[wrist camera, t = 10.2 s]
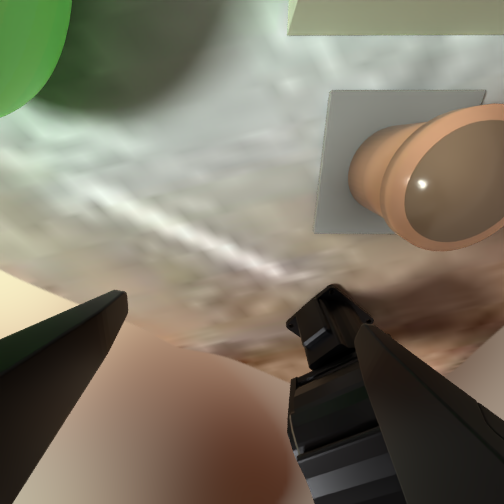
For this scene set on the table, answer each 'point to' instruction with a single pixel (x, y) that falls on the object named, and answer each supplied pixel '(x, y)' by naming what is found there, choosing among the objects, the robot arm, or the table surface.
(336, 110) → the slate pad
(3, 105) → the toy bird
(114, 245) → the table surface
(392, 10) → the pale green square tray
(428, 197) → the terracotta pot
